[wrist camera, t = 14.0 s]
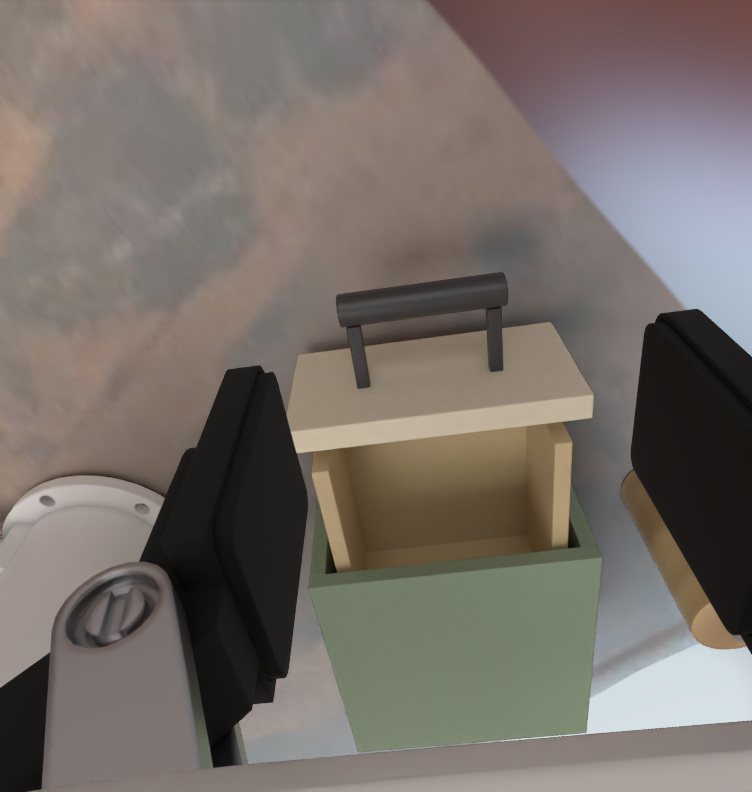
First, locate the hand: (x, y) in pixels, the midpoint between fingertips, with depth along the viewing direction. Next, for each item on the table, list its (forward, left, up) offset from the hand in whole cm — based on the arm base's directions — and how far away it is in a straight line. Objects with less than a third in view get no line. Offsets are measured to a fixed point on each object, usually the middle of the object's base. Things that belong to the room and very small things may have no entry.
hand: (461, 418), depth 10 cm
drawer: (+3, -13, -19) cm, 23 cm away
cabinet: (+6, -24, -20) cm, 32 cm away
